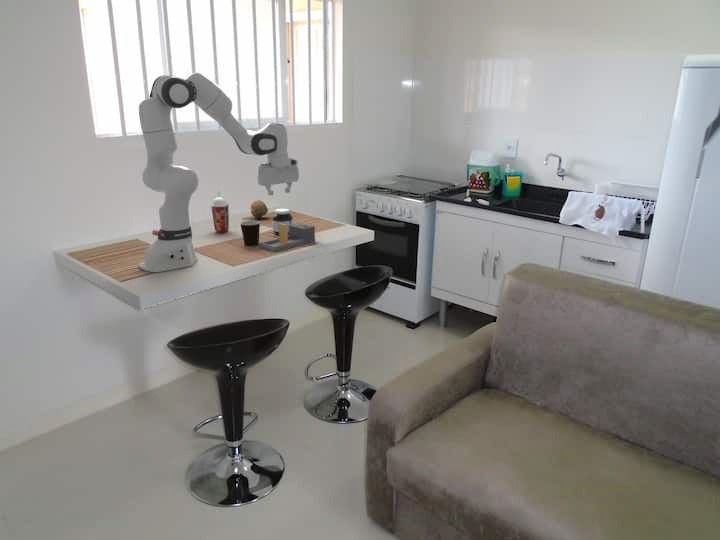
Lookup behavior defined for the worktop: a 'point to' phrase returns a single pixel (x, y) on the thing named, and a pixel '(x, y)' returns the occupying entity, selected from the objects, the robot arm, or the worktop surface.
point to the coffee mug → (250, 232)
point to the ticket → (283, 233)
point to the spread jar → (282, 219)
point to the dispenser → (292, 237)
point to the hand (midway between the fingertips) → (279, 193)
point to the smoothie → (220, 214)
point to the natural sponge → (258, 209)
